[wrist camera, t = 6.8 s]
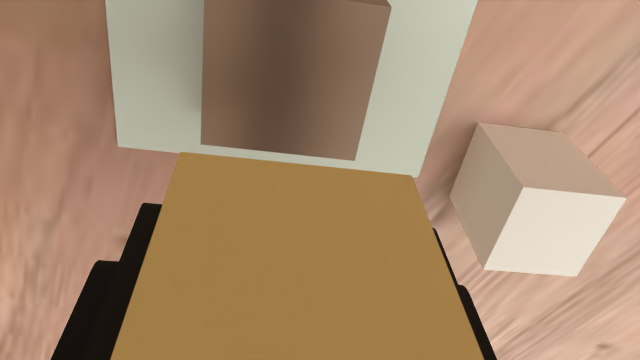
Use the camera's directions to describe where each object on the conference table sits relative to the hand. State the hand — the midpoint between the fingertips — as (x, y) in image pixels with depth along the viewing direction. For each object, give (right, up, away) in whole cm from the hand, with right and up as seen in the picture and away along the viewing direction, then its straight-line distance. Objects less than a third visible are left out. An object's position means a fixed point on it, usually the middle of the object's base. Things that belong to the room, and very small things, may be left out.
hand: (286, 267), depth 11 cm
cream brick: (+11, +3, +16) cm, 20 cm away
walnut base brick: (-1, +8, +11) cm, 14 cm away
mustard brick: (0, 0, +1) cm, 1 cm away
